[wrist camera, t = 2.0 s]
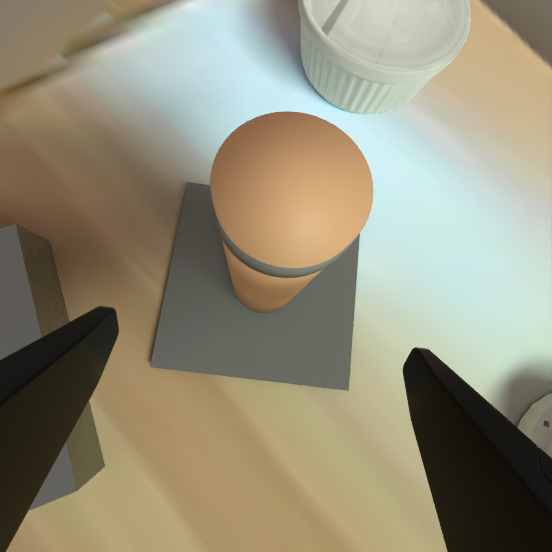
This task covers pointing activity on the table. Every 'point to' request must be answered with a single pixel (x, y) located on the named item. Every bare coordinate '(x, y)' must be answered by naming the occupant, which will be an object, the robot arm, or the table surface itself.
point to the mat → (251, 314)
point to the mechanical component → (539, 423)
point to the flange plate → (32, 326)
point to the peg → (286, 203)
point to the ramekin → (378, 48)
